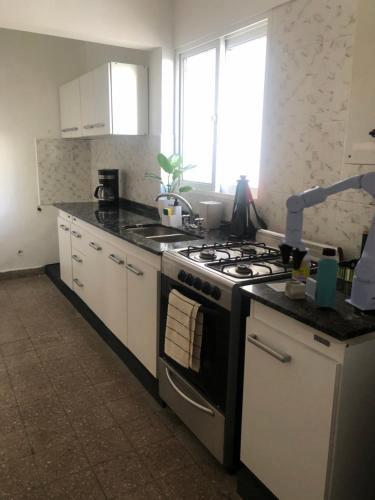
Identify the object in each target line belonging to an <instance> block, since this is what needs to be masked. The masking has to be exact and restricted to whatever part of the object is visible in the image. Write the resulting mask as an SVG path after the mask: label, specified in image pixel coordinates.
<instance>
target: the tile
mask: <svg viewBox="0 0 375 500" xmlns="http://www.w3.org/2000/svg"><path fill="white" fill-rule="evenodd" d="M265 284H266V285H265V286H267V287H269V288H270V289H272V291H274V292H276V293H285V286H286V282H278V283H265Z"/></svg>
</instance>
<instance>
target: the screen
mask: <svg viewBox="0 0 375 500" xmlns="http://www.w3.org/2000/svg"><path fill="white" fill-rule="evenodd" d="M305 285H306V289H305V297H308V298H310V299H311V300H313V301H314V302H315V300H314V299H315V297H314V296H315V290H316V280H315V279H313V278H311V277H309V278H307V279H306V281H305Z"/></svg>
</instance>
